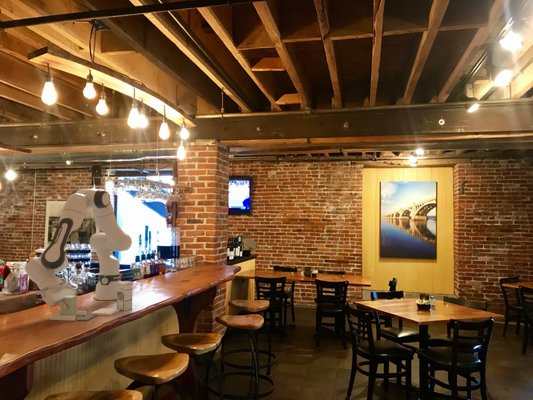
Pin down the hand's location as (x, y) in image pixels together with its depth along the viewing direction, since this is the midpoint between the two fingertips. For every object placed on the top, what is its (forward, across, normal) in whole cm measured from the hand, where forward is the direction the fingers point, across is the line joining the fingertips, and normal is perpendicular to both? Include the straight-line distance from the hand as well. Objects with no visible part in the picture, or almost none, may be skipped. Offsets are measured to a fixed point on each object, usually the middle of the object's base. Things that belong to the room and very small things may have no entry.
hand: (70, 307), depth 190 cm
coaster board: (+12, +10, -6) cm, 17 cm away
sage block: (+3, 0, +4) cm, 5 cm away
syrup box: (+17, +19, -10) cm, 28 cm away
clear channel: (+5, 0, +2) cm, 5 cm away
